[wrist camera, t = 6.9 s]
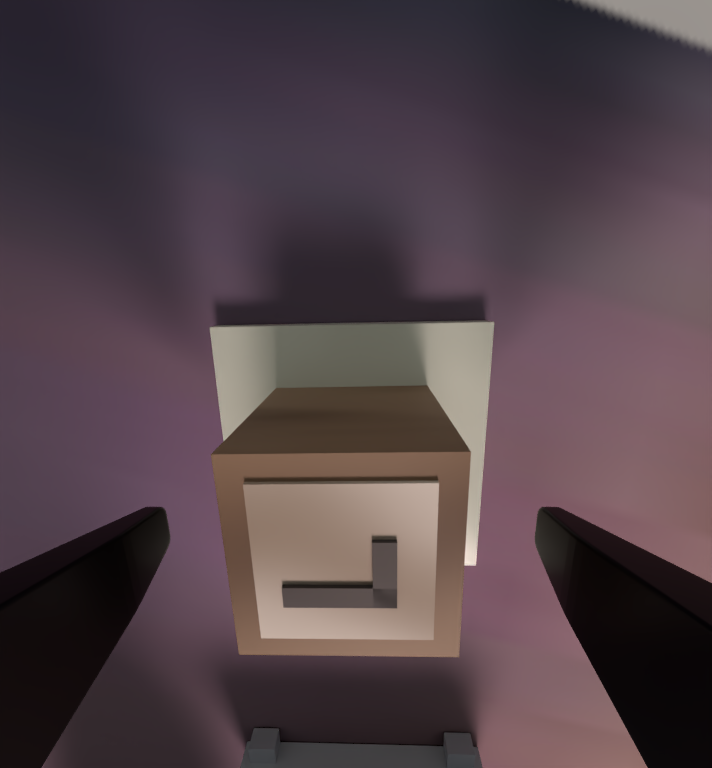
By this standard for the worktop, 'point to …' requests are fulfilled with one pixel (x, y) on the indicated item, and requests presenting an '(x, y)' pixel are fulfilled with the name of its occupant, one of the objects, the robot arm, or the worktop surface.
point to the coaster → (364, 373)
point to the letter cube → (345, 523)
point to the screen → (357, 753)
